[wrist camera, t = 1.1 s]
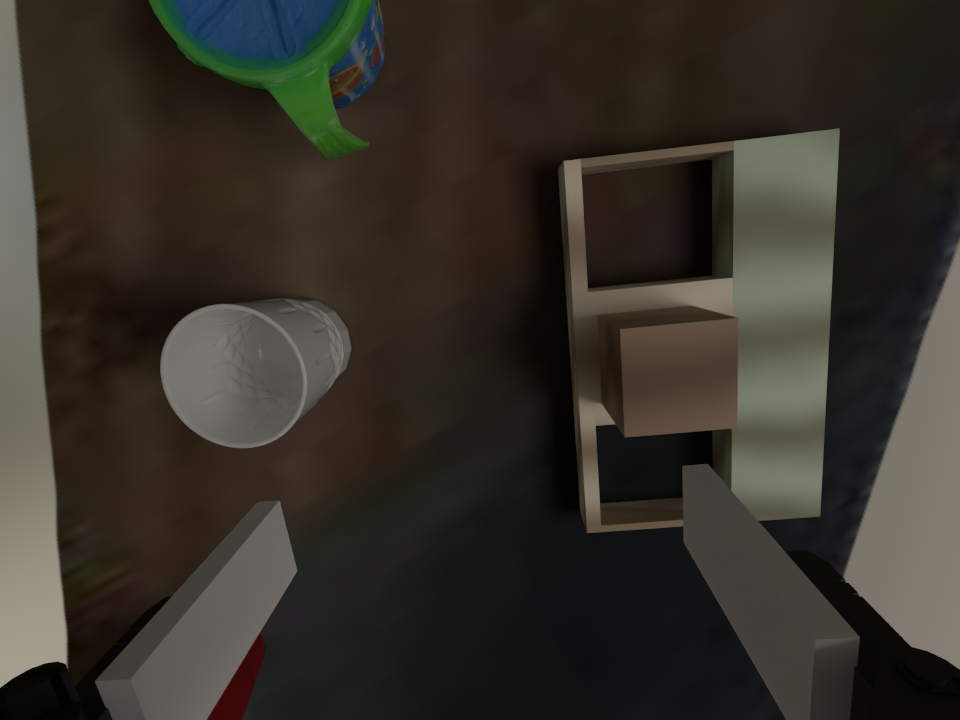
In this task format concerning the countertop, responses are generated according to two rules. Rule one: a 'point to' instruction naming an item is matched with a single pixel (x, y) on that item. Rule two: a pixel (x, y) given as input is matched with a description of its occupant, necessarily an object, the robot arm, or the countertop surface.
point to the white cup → (252, 367)
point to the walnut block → (669, 370)
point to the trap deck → (735, 292)
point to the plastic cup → (240, 685)
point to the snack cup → (287, 54)
